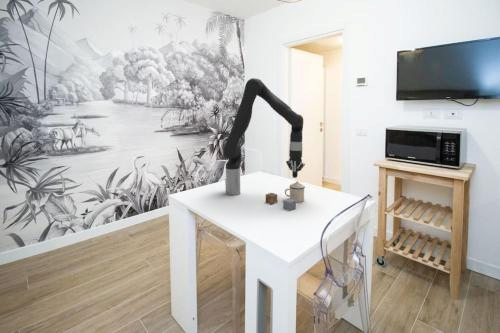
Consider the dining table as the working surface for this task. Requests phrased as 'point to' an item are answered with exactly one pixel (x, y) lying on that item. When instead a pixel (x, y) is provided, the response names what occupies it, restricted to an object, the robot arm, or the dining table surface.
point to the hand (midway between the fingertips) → (294, 177)
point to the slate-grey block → (289, 204)
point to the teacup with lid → (296, 192)
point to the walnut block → (271, 198)
